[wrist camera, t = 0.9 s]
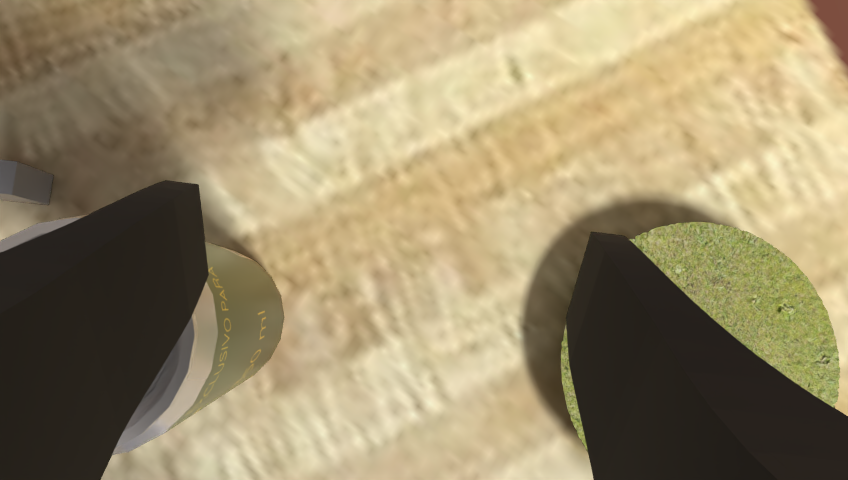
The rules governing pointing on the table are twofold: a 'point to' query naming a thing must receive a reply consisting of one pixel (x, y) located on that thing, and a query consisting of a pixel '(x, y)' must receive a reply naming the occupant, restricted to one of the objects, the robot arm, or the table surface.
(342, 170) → the table surface
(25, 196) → the dock
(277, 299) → the beer can
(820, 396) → the green disc with hole
